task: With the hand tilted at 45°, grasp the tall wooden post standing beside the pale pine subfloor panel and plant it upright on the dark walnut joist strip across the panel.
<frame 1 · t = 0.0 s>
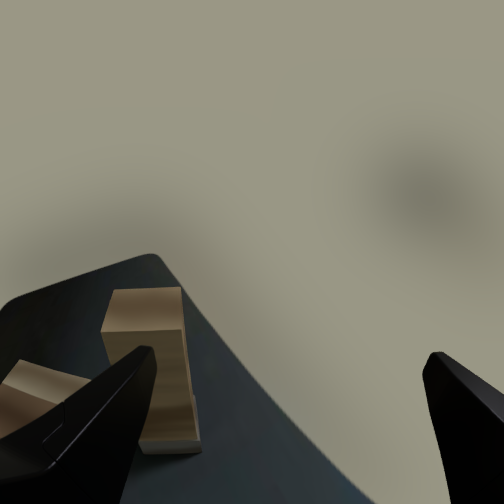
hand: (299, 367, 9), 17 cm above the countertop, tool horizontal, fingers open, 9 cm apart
tall wooden post: (171, 431, 23), on the countertop
subfloor panel: (23, 464, 16), on the countertop
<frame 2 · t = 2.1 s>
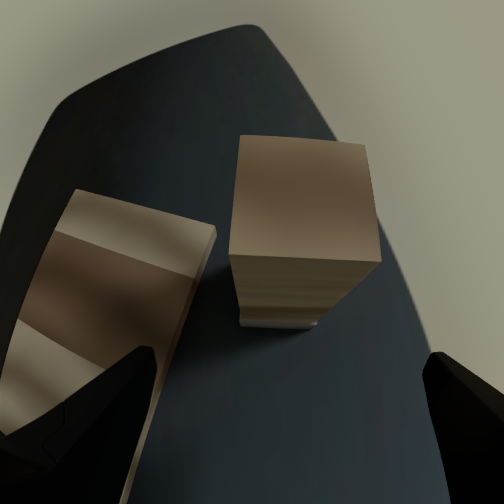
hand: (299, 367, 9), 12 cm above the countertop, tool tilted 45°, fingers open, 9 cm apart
tall wooden post: (277, 294, 22), on the countertop
subfloor panel: (88, 343, 20), on the countertop
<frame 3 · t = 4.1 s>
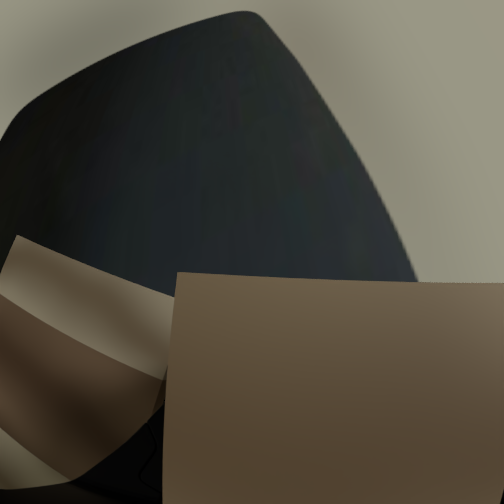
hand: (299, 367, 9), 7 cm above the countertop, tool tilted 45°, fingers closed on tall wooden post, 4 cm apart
tall wooden post: (279, 395, 15), on the countertop, touching gripper
subfloor panel: (44, 435, 13), on the countertop
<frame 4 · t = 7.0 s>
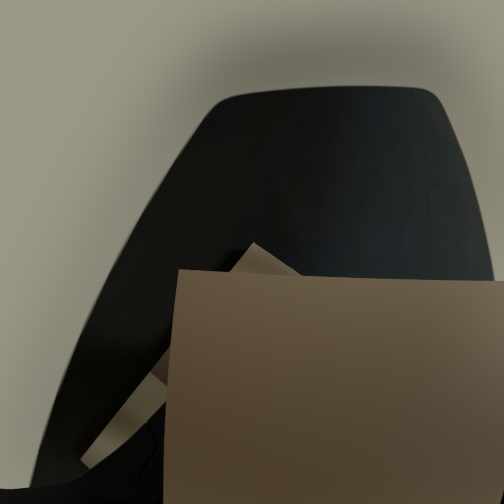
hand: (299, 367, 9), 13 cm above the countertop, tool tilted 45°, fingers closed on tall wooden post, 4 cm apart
tall wooden post: (279, 394, 15), point 7 cm above the countertop, touching gripper
subfloor panel: (234, 416, 20), on the countertop
when the fingers open (9 cm above the countertop, at t = 8.4 s): tall wooden post drops 1 cm, resting on subfloor panel.
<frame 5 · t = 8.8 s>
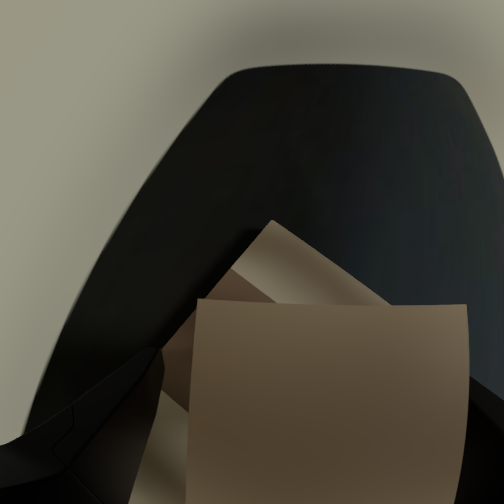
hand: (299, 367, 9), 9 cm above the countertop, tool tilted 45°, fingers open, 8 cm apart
tall wooden post: (277, 393, 16), point 2 cm above the countertop, touching subfloor panel
subfloor panel: (244, 428, 16), on the countertop
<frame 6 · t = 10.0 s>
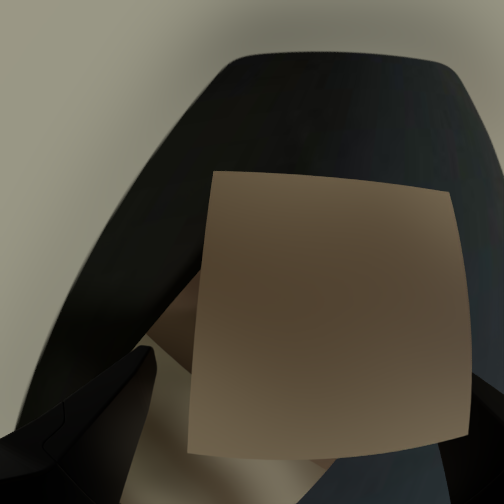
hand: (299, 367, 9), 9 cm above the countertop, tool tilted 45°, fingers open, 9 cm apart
tall wooden post: (280, 352, 17), point 1 cm above the countertop, touching subfloor panel
subfloor panel: (246, 392, 17), on the countertop
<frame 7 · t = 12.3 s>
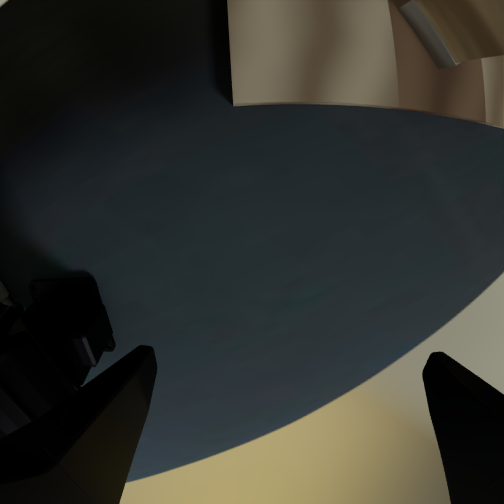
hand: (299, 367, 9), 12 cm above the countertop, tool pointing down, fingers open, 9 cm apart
tall wooden post: (439, 27, 14), point 1 cm above the countertop, touching subfloor panel
subfloor panel: (393, 22, 15), on the countertop
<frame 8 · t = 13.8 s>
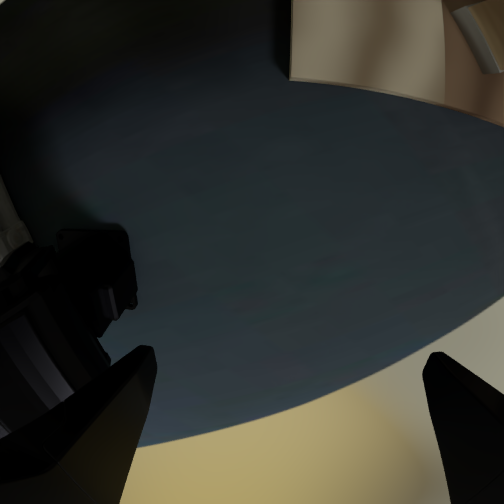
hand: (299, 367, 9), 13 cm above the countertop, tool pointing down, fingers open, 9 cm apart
tall wooden post: (486, 35, 13), point 1 cm above the countertop, touching subfloor panel
subfloor panel: (444, 25, 14), on the countertop
metal rod assembly: (13, 203, 21), on the countertop
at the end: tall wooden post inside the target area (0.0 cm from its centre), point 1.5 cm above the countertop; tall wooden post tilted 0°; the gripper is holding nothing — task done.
